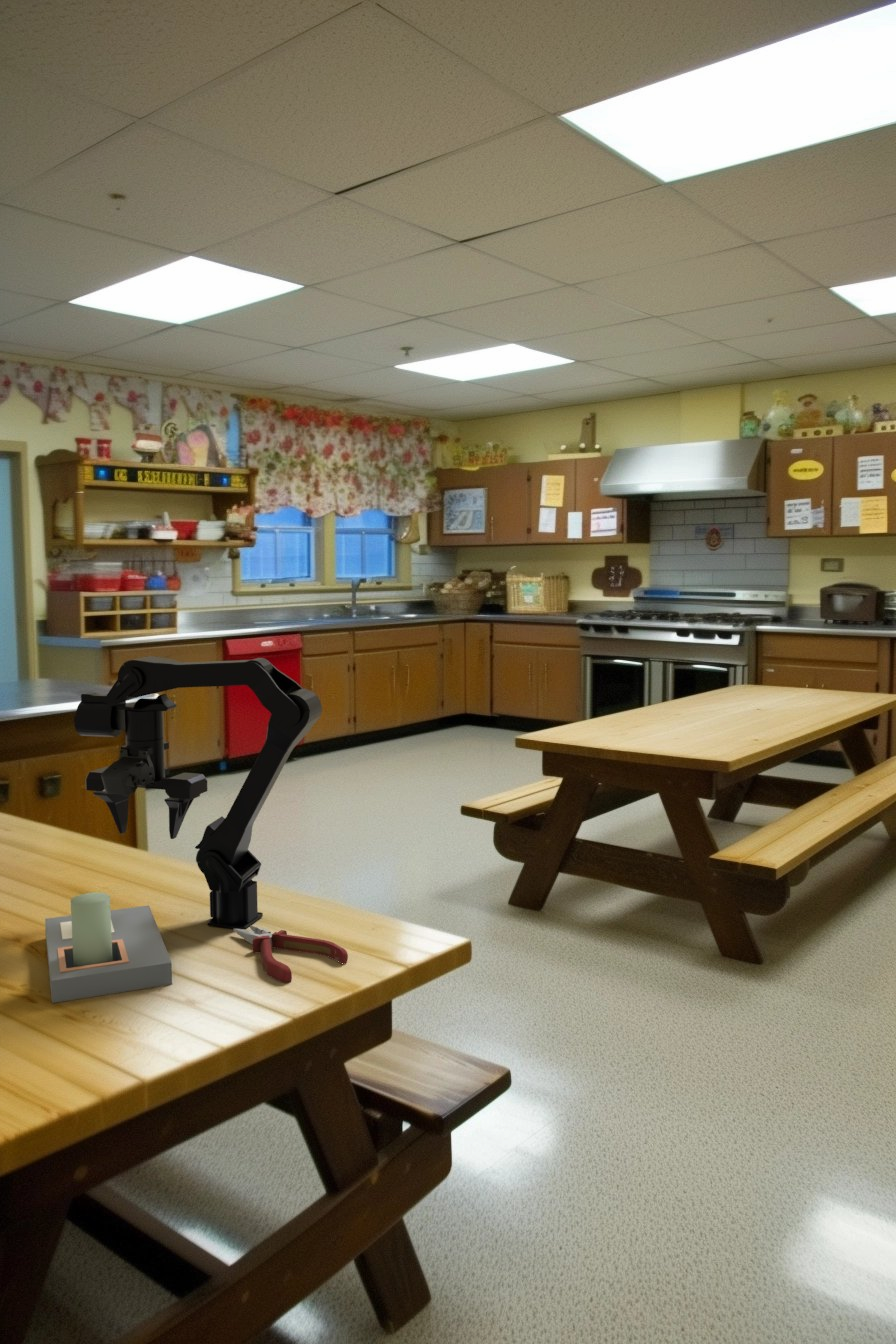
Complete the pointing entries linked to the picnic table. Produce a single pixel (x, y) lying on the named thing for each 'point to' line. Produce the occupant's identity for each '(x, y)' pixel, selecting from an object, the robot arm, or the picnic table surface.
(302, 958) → the picnic table surface
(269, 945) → the pliers
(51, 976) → the slotted grey base
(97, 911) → the post
